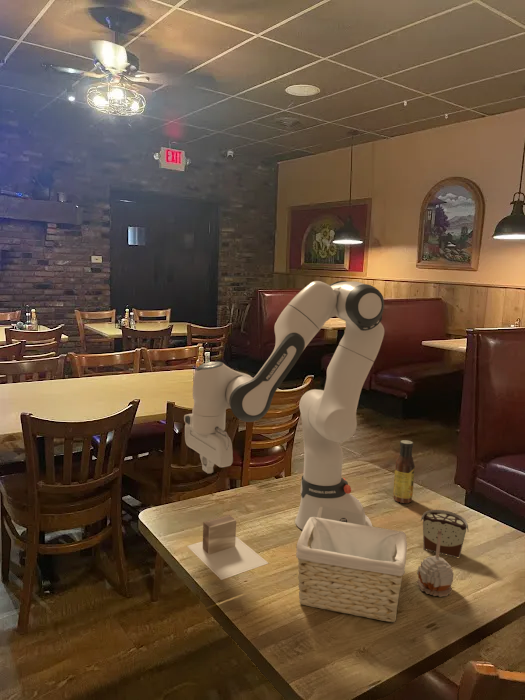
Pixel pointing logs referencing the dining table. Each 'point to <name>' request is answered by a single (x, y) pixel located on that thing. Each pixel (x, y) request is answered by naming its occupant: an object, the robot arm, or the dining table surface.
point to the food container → (444, 531)
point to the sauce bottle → (404, 473)
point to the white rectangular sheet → (229, 559)
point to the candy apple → (435, 574)
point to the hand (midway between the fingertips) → (207, 471)
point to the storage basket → (351, 568)
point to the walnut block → (219, 534)
